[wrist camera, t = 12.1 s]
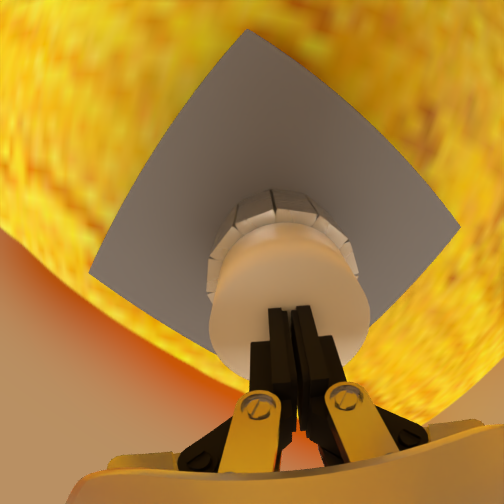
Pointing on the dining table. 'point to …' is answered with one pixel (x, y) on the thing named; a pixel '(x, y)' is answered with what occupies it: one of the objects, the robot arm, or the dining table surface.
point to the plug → (285, 292)
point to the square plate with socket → (267, 191)
